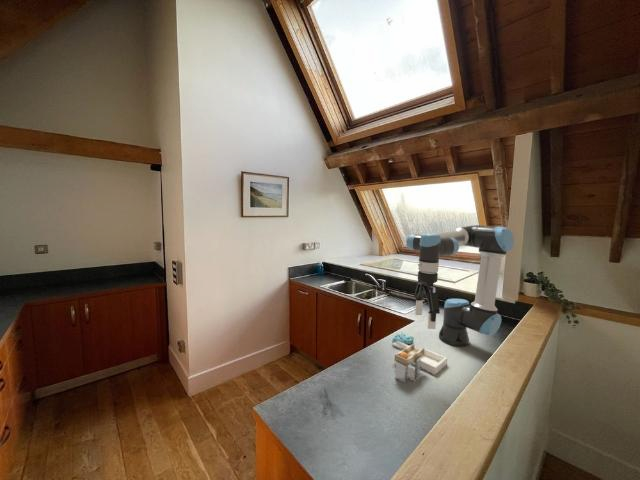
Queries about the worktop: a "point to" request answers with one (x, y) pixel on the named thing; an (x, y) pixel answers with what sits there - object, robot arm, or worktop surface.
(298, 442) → the worktop surface
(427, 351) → the dish
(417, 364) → the fulcrum
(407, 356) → the ball
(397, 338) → the toy
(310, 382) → the worktop surface
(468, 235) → the robot arm
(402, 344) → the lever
